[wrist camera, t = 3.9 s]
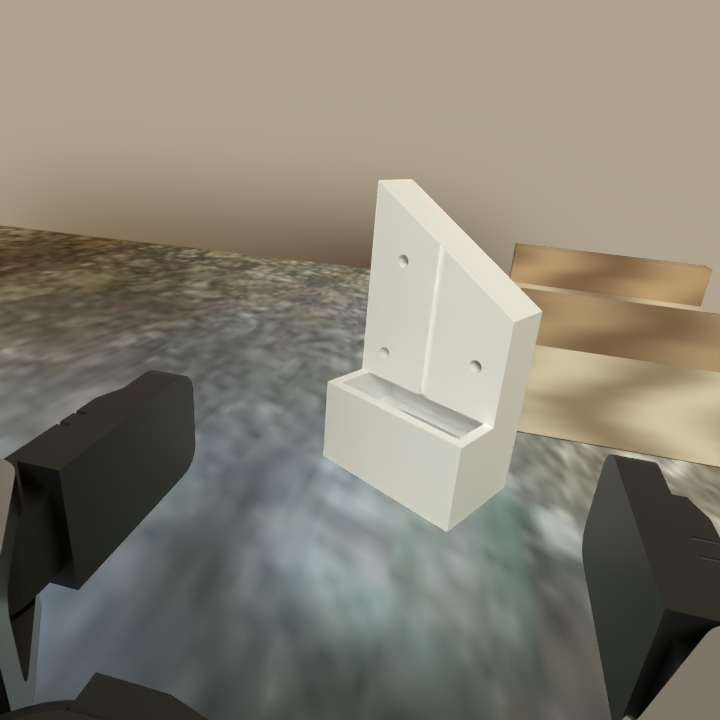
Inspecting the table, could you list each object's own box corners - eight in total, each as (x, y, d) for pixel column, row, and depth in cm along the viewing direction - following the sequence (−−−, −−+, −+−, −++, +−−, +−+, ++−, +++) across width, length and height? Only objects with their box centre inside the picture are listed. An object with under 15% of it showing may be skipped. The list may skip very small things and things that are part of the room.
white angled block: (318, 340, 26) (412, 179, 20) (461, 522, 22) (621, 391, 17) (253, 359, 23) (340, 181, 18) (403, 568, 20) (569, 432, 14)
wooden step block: (495, 427, 24) (521, 294, 22) (497, 341, 34) (515, 243, 32) (747, 471, 23) (806, 332, 20) (673, 367, 33) (706, 265, 30)
